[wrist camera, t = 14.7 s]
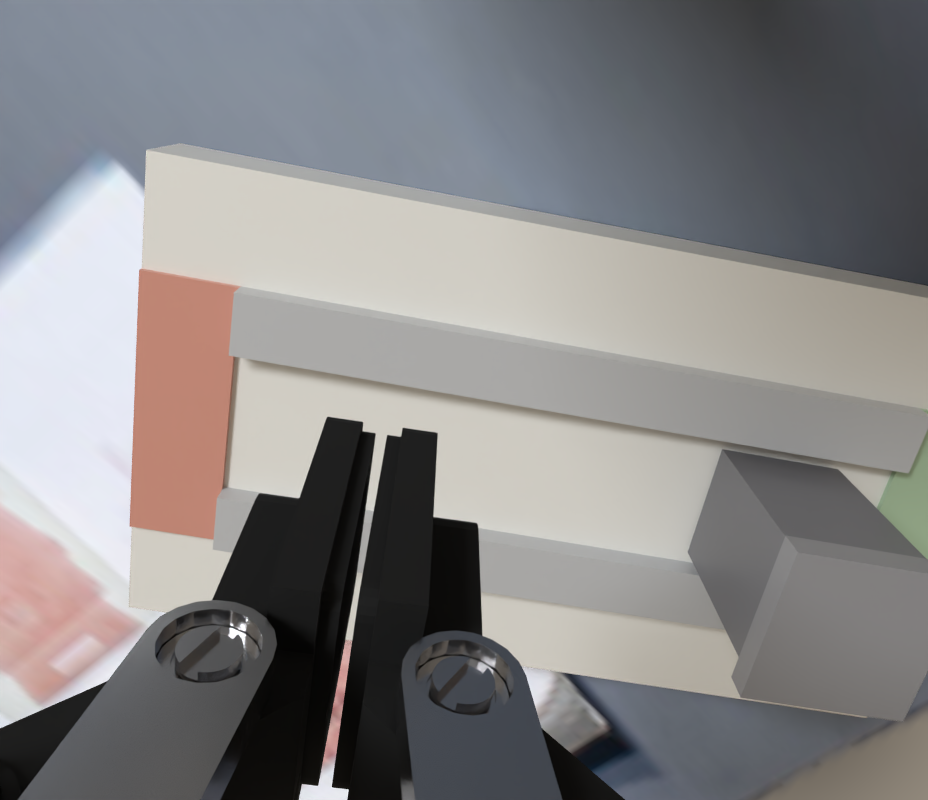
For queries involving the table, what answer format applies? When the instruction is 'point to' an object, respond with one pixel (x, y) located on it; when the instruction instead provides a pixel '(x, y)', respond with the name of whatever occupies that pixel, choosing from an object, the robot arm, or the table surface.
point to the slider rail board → (502, 393)
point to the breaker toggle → (812, 588)
